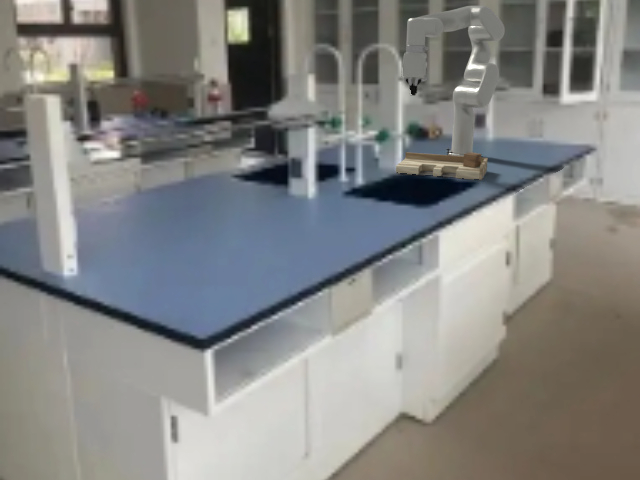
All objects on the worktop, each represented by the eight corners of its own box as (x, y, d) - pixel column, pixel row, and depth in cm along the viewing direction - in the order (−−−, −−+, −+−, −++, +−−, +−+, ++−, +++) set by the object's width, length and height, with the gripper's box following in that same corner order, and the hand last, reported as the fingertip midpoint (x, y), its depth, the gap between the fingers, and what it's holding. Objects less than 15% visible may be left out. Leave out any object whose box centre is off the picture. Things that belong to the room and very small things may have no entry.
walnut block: (469, 164, 287) (470, 152, 285) (480, 166, 283) (481, 153, 282) (463, 166, 283) (464, 153, 281) (474, 168, 280) (475, 155, 278)
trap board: (405, 165, 299) (406, 152, 298) (486, 171, 289) (487, 158, 287) (395, 173, 283) (396, 159, 281) (481, 180, 272) (482, 166, 271)
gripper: (435, 49, 288) (432, 95, 294) (399, 48, 293) (397, 93, 299) (431, 50, 282) (429, 96, 287) (395, 49, 286) (393, 95, 292)
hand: (413, 95), depth 293 cm, fingers closed
